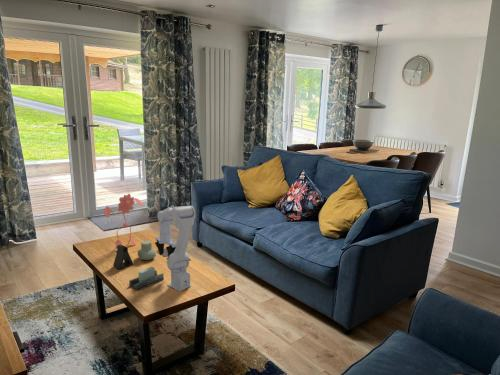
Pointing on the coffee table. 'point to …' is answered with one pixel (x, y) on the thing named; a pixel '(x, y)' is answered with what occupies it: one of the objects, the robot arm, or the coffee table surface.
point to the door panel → (146, 274)
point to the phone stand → (122, 258)
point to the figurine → (124, 206)
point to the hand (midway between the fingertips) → (165, 256)
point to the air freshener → (146, 251)
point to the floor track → (136, 285)
